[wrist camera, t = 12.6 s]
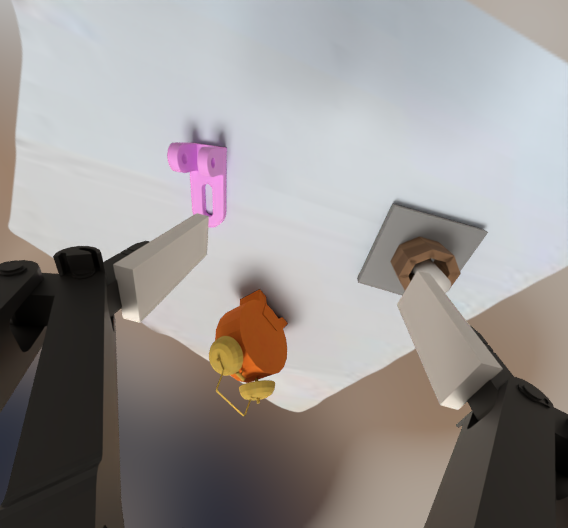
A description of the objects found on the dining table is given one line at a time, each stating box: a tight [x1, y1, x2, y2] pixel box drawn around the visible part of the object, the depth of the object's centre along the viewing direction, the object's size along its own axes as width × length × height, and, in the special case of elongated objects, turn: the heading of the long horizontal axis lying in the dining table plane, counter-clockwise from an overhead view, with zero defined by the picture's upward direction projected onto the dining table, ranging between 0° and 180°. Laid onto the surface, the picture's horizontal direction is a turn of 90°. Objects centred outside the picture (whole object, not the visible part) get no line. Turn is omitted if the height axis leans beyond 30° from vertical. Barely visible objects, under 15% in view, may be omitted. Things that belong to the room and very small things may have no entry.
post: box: [357, 204, 488, 295], centre depth 35 cm, size 14×14×10 cm
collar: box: [390, 237, 461, 290], centre depth 36 cm, size 7×7×5 cm
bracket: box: [167, 143, 227, 227], centre depth 36 cm, size 13×6×7 cm, turn 173°
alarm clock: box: [209, 289, 288, 416], centre depth 41 cm, size 13×6×20 cm, turn 35°
